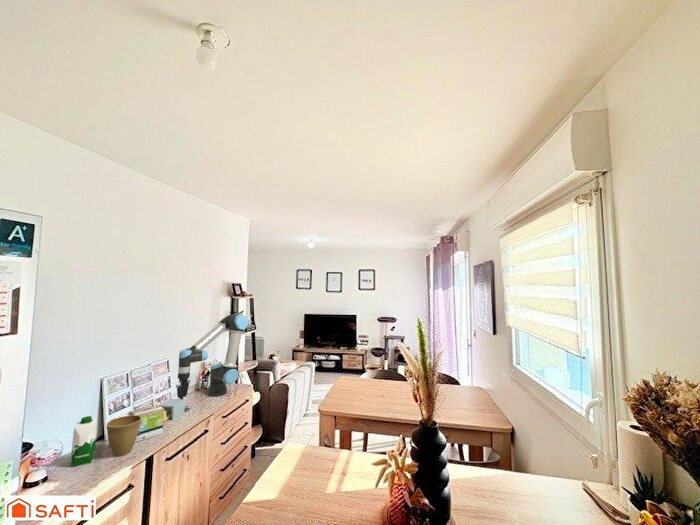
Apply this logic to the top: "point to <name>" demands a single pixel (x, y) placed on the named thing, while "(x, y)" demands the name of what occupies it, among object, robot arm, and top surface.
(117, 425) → the plant pot
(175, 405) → the tunnel
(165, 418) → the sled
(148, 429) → the tea box
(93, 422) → the milk carton
